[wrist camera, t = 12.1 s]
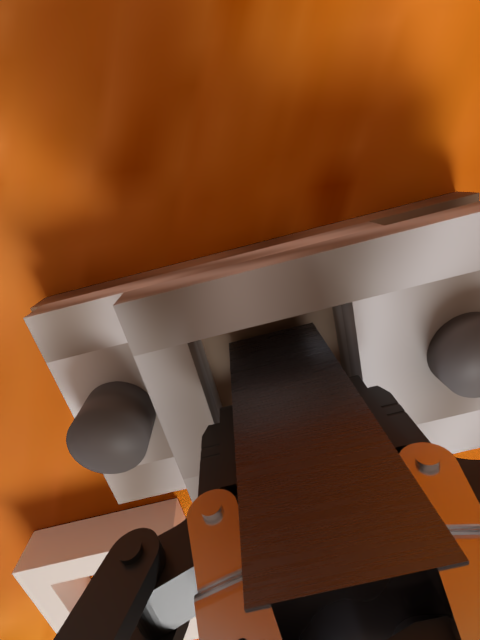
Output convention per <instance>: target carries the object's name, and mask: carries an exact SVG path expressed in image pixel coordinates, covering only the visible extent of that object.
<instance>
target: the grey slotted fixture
mask: <svg viewBox="0 0 480 640" xmlns="http://www.w3.org/2000/svg"><path fill="white" fill-rule="evenodd" d="M30 309H31V311H32V312H31V313H30V314H29V315H27V316H26V317H24V318H23V319H24V321H25V322H26V324H27V326H28V328H29V330H30V332H31V334H32V336H33V338H34V340H35V342H36V344H37V346H38V348H39V350H40V352H41V354H42V356H43V358H44V360H45V362H46V363H47V365H48V367H49V369H50V371H51V373H52V375H53V377H54V379H55V381H56V383H57V385H58V387H59V389H60V391H61V393H62V395H63V397H64V399H65V401H66V403H67V404H68V406H69V408H70V410H71V412H72V414H73V416H74V418H75V419H74V421H73V422H72V424H71V426H70V427H69V429H68V432H67V436H66V442H67V447H68V450H69V452H70V454H71V455H72V457H73V458H74V459H75V460H76V461H77V462H78V463H79V464H80V465H82V466H83V467H85V468H87V469H89V470H91V471H94V472H98V473H102V474H103V475H104V477H105V479H106V481H107V483H108V485H109V486H110V488H111V490H112V492H113V494H114V496H115V498H116V500H117V502H118V504H122V503H127V502H131V501H135V500H140V499H144V498H148V497H152V496H157V495H161V494H165V493H170V492H174V491H178V490H182V489H187V490H188V493H189V495H190V498H191V500H192V503H193V502H194V501H195V499H196V498H198V486H199V471H200V460H201V458H200V456H201V441H202V436H203V434H204V432H205V430H206V428H207V427H208V425H212V424H216V423H220V408H221V407H225V406H229V405H232V390H231V373H230V356H229V343H231V342H235V341H239V340H243V339H247V338H251V337H255V336H259V335H263V334H268V333H272V332H276V331H280V330H284V329H288V328H292V327H296V326H300V325H304V324H308V323H312V322H313V324H314V325H315V327H316V328H317V330H318V331H319V333H320V334H321V336H322V337H323V339H324V340H325V342H326V344H327V345H328V347H329V348H330V350H331V351H332V353H333V354H334V356H335V357H336V359H337V360H338V362H339V363H340V365H341V366H342V368H343V369H344V371H345V372H346V374H347V376H348V377H351V376H355V375H358V376H359V377H360V378H361V379H362V381H363V382H364V383H365V385H366V386H367V388H369V387H373V386H377V385H378V386H379V387H381V388H383V389H385V390H387V391H389V392H390V393H391V394H392V395H393V396H394V398H395V399H396V400H397V401H398V404H400V405H401V406H402V408H403V409H404V410H405V413H407V414H408V415H409V416H410V418H411V419H412V420H413V421H414V423H415V424H416V425H417V426H418V428H419V429H420V430H421V431H422V432H423V434H424V435H425V436H426V437H427V439H428V440H429V441H430V442H431V443H432V444H436V445H439V446H441V447H444V448H445V449H447V450H448V451H450V452H451V453H452V454H454V453H458V452H463V451H467V450H471V449H476V448H480V201H479V193H472V192H453V193H449V194H445V195H441V196H437V197H434V198H430V199H426V200H422V201H418V202H414V203H410V204H406V205H403V206H399V207H395V208H391V209H387V210H383V211H379V212H375V213H371V214H368V215H364V216H360V217H356V218H352V219H348V220H344V221H340V222H337V223H333V224H329V225H325V226H321V227H317V228H313V229H309V230H306V231H302V232H298V233H294V234H290V235H286V236H282V237H278V238H275V239H271V240H267V241H263V242H259V243H255V244H251V245H247V246H243V247H240V248H236V249H232V250H228V251H224V252H220V253H216V254H212V255H209V256H205V257H201V258H197V259H193V260H189V261H185V262H181V263H178V264H174V265H170V266H166V267H162V268H158V269H154V270H150V271H147V272H143V273H139V274H135V275H131V276H127V277H123V278H119V279H115V280H112V281H108V282H104V283H100V284H96V285H92V286H88V287H84V288H81V289H77V290H73V291H69V292H65V293H61V294H57V295H53V296H50V297H46V298H45V299H43V300H42V301H40V302H39V303H37V304H36V305H34V306H33V307H31V308H30Z"/></svg>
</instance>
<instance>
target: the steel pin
mask: <svg viewBox="0 0 480 640" xmlns="http://www.w3.org/2000/svg"><path fill="white" fill-rule="evenodd" d="M229 356H230V373H231V390H232V407H233V425H234V442H235V459H236V476H237V494H238V511H239V528H240V545H241V563H242V580H243V597H244V610H245V611H249V610H254V609H258V608H263V607H267V606H271V607H272V610H273V613H274V616H275V619H276V622H277V625H278V628H279V631H280V634H281V637H282V640H387V639H388V638H390V637H391V636H393V635H395V634H396V633H398V632H400V631H401V630H403V629H405V628H406V627H408V626H410V625H411V624H413V623H415V622H420V621H424V620H429V619H434V618H439V617H443V616H448V615H447V612H446V609H445V607H444V604H443V601H442V599H441V597H440V594H439V576H438V570H439V569H443V568H448V567H452V566H457V565H462V564H466V563H469V560H468V558H467V557H466V555H465V554H464V552H463V551H462V549H461V548H460V546H459V545H458V543H457V541H456V540H455V538H454V537H453V535H452V534H451V532H450V531H449V529H448V528H447V526H446V525H445V523H444V522H443V520H442V519H441V517H440V516H439V514H438V513H437V511H436V509H435V508H434V506H433V505H432V503H431V502H430V500H429V499H428V497H427V496H426V494H425V493H424V491H423V490H422V488H421V487H420V485H419V484H418V482H417V481H416V479H415V478H414V476H413V474H412V473H411V471H410V470H409V468H408V467H407V465H406V464H405V462H404V461H403V459H402V458H401V456H400V455H399V453H398V452H397V450H396V449H395V447H394V446H393V444H392V442H391V441H390V439H389V438H388V436H387V435H386V433H385V432H384V430H383V429H382V427H381V426H380V424H379V423H378V421H377V420H376V418H375V417H374V415H373V414H372V412H371V411H370V409H369V407H368V406H367V404H366V403H365V401H364V400H363V398H362V397H361V395H360V394H359V392H358V391H357V389H356V388H355V386H354V385H353V383H352V382H351V380H350V379H349V377H348V376H347V374H346V372H345V371H344V369H343V368H342V366H341V365H340V363H339V362H338V360H337V359H336V357H335V356H334V354H333V353H332V351H331V350H330V348H329V347H328V345H327V344H326V342H325V340H324V339H323V337H322V336H321V334H320V333H319V331H318V330H317V328H316V327H315V325H314V324H313V322H312V323H308V324H304V325H300V326H296V327H292V328H288V329H284V330H280V331H276V332H272V333H268V334H263V335H259V336H255V337H251V338H247V339H243V340H239V341H235V342H231V343H229Z"/></svg>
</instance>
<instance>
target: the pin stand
mask: <svg viewBox="0 0 480 640" xmlns="http://www.w3.org/2000/svg"><path fill="white" fill-rule="evenodd" d="M185 519H186V518H185V515H184V513H183V511H182V508H181V506H180V503H179V501H178V499H177V498H175V499H170V500H166V501H162V502H158V503H153V504H149V505H145V506H140V507H136V508H132V509H127V510H123V511H119V512H115V513H110V514H106V515H102V516H97V517H93V518H89V519H84V520H80V521H76V522H72V523H67V524H63V525H59V526H54V527H50V528H46V529H41V530H37V531H34V532H33V534H32V536H31V538H30V540H29V542H28V544H27V546H26V548H25V549H24V551H23V553H22V555H21V557H20V559H19V561H18V563H17V565H16V567H15V568H14V570H13V572H12V574H13V576H14V577H15V578H16V580H17V581H18V582H19V584H20V585H21V587H22V588H23V589H24V591H25V592H26V593H27V595H28V596H29V597H30V599H31V600H32V601H33V603H34V604H35V605H36V607H37V608H38V609H39V611H40V612H41V613H42V615H43V616H44V618H45V619H46V620H47V622H48V623H49V624H50V626H51V627H52V628H53V630H54V631H55V632H56V634H57V633H58V631H59V630H60V628H61V627H62V625H63V624H64V622H65V620H66V619H67V617H68V616H69V614H70V612H71V611H72V609H73V608H74V606H75V604H76V603H77V601H78V600H79V598H80V597H81V595H82V593H83V592H84V590H85V589H86V587H87V585H88V584H89V582H90V581H91V579H90V577H89V576H92V575H94V574H95V573H96V571H97V569H98V568H99V566H100V565H101V563H102V562H103V560H104V558H105V557H106V555H107V554H108V552H109V550H110V549H111V548H112V546H113V545H114V544H115V542H116V541H117V540H118V539H120V538H121V537H122V536H123V535H125V534H126V533H128V532H130V531H132V530H134V529H138V528H149V529H151V530H153V531H154V532H155V533H156V534H157V536H159V535H160V534H162V533H164V532H166V531H168V530H170V529H171V528H173V527H175V526H177V525H178V524H180V523H181V522H182V521H184V520H185ZM198 638H199V636H198V628H197V621H196V616H195V617H194V618H192V619H190V622H189V626H188V628H187V631H186V634H185V636H184V639H183V640H193V639H198Z"/></svg>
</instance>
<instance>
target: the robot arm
mask: <svg viewBox="0 0 480 640" xmlns="http://www.w3.org/2000/svg"><path fill="white" fill-rule="evenodd" d="M349 379H350V380H351V382H352V383H353V385H354V386H355V388H356V389H357V391H358V392H359V394H360V395H361V397H362V398H363V400H364V401H365V403H366V404H367V406H368V407H369V409H370V411H371V412H372V414H373V415H374V417H375V418H376V420H377V421H378V423H379V424H380V426H381V427H382V429H383V430H384V432H385V433H386V435H387V436H388V438H389V439H390V441H391V442H392V444H393V446H394V447H395V449H396V450H397V452H398V453H399V455H400V456H401V458H402V459H403V461H404V462H405V464H406V465H407V467H408V468H409V470H410V471H411V473H412V474H413V476H414V478H415V479H416V481H417V482H418V484H419V485H420V487H421V488H422V490H423V491H424V493H425V494H426V496H427V497H428V499H429V500H430V502H431V503H432V505H433V506H434V508H435V509H436V511H437V513H438V514H439V516H440V517H441V519H442V520H443V522H444V523H445V525H446V526H447V528H448V529H449V531H450V532H451V534H452V535H453V537H454V538H455V540H456V541H457V543H458V545H459V546H460V548H461V549H462V551H463V552H464V554H465V555H466V557H467V558H468V560H469V563H466V564H462V565H457V566H452V567H448V568H443V569H439V570H438V576H439V594H440V597H441V599H442V601H443V604H444V607H445V609H446V612H447V615H448V616H443V617H439V618H434V619H429V620H424V621H420V622H415V623H413V624H411V625H410V626H408V627H406V628H405V629H403V630H401V631H400V632H398V633H396V634H395V635H393V636H391V637H390V638H388V639H387V640H480V460H468V459H461V458H456V457H455V456H454V455H453V454H452V453H451V452H450V451H448V450H447V449H445V448H444V447H441V446H439V445H436V444H432V443H431V442H430V441H429V440H428V439H427V437H426V436H425V435H424V434H423V432H422V431H421V430H420V429H419V428H418V426H417V425H416V424H415V423H414V421H413V420H412V419H411V418H410V416H409V415H408V414H407V413H405V410H404V409H403V408H402V406H401V405H400V404H398V401H397V400H396V399H395V398H394V396H393V395H392V394H391V393H390V392H389V391H387V390H385V389H383V388H381V387H379V386H378V385H377V386H373V387H369V388H367V386H366V385H365V383H364V382H363V381H362V379H361V378H360V377H359V376H358V375H355V376H351V377H349ZM200 458H201V460H200V471H199V486H198V498H196V499H195V501H194V502H193V503H192V504H191V506H190V508H189V510H188V513H187V518H186V519H185V520H184V521H182V522H181V523H180V524H178V525H177V526H175V527H173V528H171V529H170V530H168V531H166V532H164V533H162V534H160V535H159V536H157V534H156V533H155V532H154V531H153V530H151V529H149V528H138V529H134V530H132V531H130V532H128V533H126V534H125V535H123V536H122V537H121V538H120V539H118V540H117V541H116V542H115V544H114V545H113V546H112V548H111V549H110V550H109V552H108V554H107V555H106V557H105V558H104V560H103V562H102V563H101V565H100V566H99V568H98V569H97V571H96V573H95V574H94V576H93V577H92V579H91V581H90V582H89V584H88V585H87V587H86V589H85V590H84V592H83V593H82V595H81V597H80V598H79V600H78V601H77V603H76V604H75V606H74V608H73V609H72V611H71V612H70V614H69V616H68V617H67V619H66V620H65V622H64V624H63V625H62V627H61V628H60V630H59V631H58V633H57V635H56V636H55V638H54V639H53V640H183V639H184V636H185V634H186V631H187V628H188V626H189V622H190V619H192V618H194V617H195V616H196V621H197V628H198V636H199V640H282V637H281V634H280V631H279V628H278V625H277V622H276V619H275V616H274V613H273V610H272V607H271V606H267V607H263V608H258V609H254V610H249V611H245V610H244V597H243V580H242V563H241V545H240V528H239V511H238V494H237V476H236V459H235V442H234V425H233V407H232V405H229V406H225V407H221V408H220V423H216V424H212V425H208V427H207V428H206V430H205V432H204V434H203V436H202V441H201V456H200Z"/></svg>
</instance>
